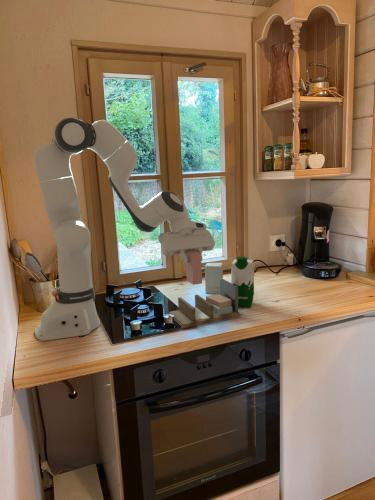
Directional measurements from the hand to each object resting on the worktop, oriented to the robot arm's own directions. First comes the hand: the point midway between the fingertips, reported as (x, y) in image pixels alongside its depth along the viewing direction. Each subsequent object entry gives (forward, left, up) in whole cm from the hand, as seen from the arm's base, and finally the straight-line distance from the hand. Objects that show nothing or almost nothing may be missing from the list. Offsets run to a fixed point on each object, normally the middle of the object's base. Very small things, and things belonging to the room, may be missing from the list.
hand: (194, 261), depth 136 cm
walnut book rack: (+4, 0, -22) cm, 22 cm away
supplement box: (+23, +25, -22) cm, 40 cm away
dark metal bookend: (+14, -1, -20) cm, 25 cm away
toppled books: (+10, 0, -20) cm, 23 cm away
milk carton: (+23, +3, -22) cm, 32 cm away
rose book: (0, +1, -8) cm, 8 cm away
